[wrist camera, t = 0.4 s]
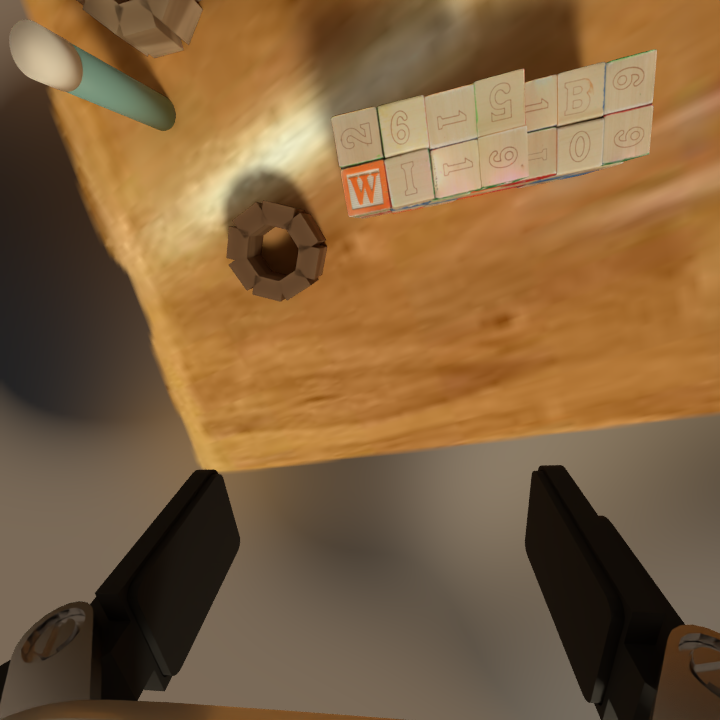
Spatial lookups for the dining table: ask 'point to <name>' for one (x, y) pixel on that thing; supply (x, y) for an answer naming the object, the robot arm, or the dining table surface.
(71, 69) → the teal cylinder white end
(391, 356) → the dining table surface
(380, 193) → the stack of blocks
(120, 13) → the bead
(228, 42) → the dining table surface
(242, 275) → the bead
